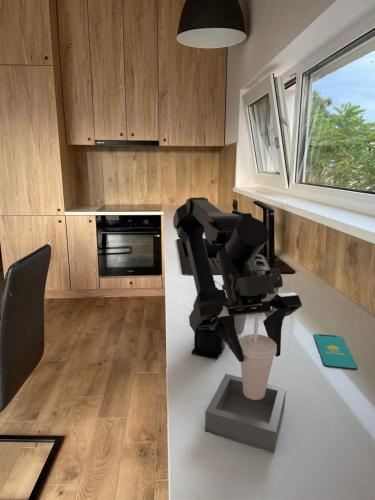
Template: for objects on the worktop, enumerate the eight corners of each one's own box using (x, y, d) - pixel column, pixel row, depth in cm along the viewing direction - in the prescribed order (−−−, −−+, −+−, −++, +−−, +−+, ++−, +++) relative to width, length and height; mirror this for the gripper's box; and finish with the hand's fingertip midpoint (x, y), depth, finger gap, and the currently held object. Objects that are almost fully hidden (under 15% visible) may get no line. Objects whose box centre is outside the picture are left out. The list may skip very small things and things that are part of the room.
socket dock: (205, 431, 59) (205, 411, 58) (225, 391, 69) (225, 373, 68) (274, 453, 54) (276, 432, 53) (284, 406, 65) (286, 388, 64)
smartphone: (323, 364, 78) (312, 333, 92) (323, 367, 78) (312, 335, 92) (358, 368, 76) (341, 336, 91) (357, 372, 76) (341, 338, 91)
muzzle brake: (267, 278, 136) (269, 253, 134) (278, 307, 109) (280, 276, 107) (243, 278, 137) (244, 252, 134) (248, 306, 110) (249, 275, 107)
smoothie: (253, 376, 64) (258, 307, 61) (280, 395, 59) (287, 322, 56) (227, 389, 61) (231, 317, 57) (254, 411, 56) (260, 333, 52)
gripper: (198, 256, 55) (220, 355, 48) (301, 249, 60) (336, 338, 52) (185, 284, 64) (201, 371, 57) (275, 276, 69) (301, 355, 62)
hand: (260, 358), depth 57 cm, fingers closed on smoothie, 6 cm apart
